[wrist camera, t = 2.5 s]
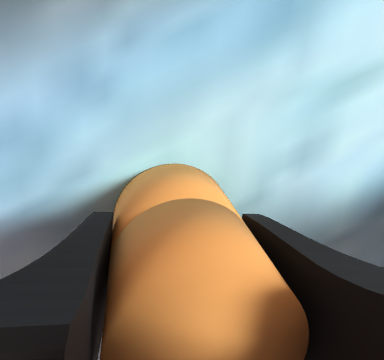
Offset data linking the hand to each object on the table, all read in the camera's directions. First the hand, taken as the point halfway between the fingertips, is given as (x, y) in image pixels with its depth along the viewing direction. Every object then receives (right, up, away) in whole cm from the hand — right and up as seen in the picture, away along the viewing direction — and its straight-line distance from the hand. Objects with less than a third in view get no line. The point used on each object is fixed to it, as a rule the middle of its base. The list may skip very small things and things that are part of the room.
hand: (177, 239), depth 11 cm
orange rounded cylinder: (0, +1, +2) cm, 2 cm away
